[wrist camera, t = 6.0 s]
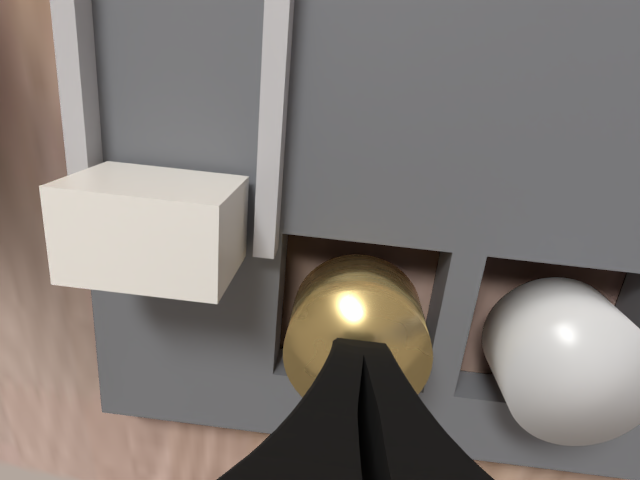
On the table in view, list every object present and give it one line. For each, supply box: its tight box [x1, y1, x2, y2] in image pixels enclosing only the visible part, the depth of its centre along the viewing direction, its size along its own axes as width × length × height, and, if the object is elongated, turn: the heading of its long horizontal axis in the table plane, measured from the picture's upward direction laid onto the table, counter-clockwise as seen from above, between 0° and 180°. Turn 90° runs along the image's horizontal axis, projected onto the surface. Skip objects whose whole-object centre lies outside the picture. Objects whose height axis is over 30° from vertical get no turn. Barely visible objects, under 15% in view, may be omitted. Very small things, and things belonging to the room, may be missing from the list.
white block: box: [39, 161, 249, 304], centre depth 12 cm, size 4×2×3 cm, turn 85°
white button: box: [482, 277, 640, 446], centre depth 13 cm, size 4×4×2 cm
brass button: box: [283, 254, 433, 397], centre depth 14 cm, size 4×4×2 cm
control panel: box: [50, 0, 640, 480], centre depth 14 cm, size 19×16×2 cm
